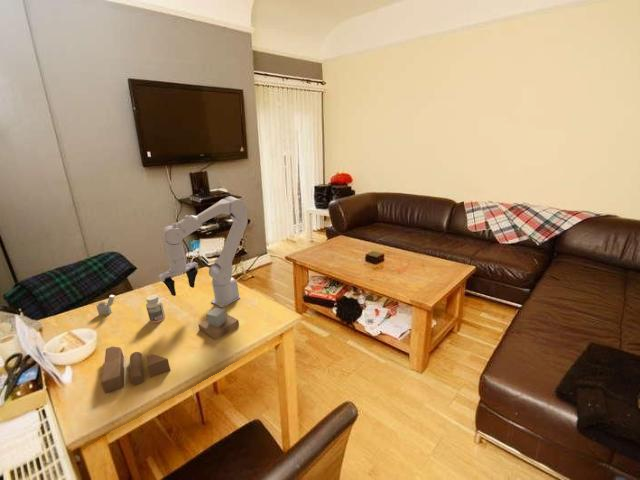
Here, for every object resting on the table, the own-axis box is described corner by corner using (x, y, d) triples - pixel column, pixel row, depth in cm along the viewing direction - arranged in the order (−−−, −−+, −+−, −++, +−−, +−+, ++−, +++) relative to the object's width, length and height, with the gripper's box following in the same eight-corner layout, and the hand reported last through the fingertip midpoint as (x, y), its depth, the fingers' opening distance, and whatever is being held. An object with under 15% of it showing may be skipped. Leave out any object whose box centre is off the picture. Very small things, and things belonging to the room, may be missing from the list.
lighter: (99, 315, 127) (93, 298, 124) (101, 313, 128) (95, 295, 126) (117, 313, 127) (112, 296, 125) (119, 311, 129) (114, 294, 126)
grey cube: (217, 317, 117) (215, 307, 116) (226, 320, 116) (225, 309, 114) (208, 324, 114) (206, 313, 112) (218, 327, 112) (216, 316, 110)
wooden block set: (99, 382, 86) (103, 345, 101) (105, 398, 88) (108, 359, 103) (167, 358, 94) (162, 327, 108) (171, 373, 95) (165, 341, 110)
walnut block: (222, 317, 122) (221, 311, 121) (239, 326, 117) (238, 320, 116) (199, 331, 115) (198, 324, 114) (216, 341, 109) (214, 334, 108)
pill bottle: (153, 315, 125) (147, 294, 121) (167, 314, 125) (162, 292, 122) (147, 324, 120) (141, 301, 116) (162, 322, 120) (156, 300, 117)
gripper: (188, 249, 125) (194, 280, 129) (151, 262, 114) (159, 295, 118) (198, 253, 121) (204, 285, 125) (161, 266, 110) (169, 301, 114)
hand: (183, 290), depth 121 cm, fingers open, 7 cm apart
